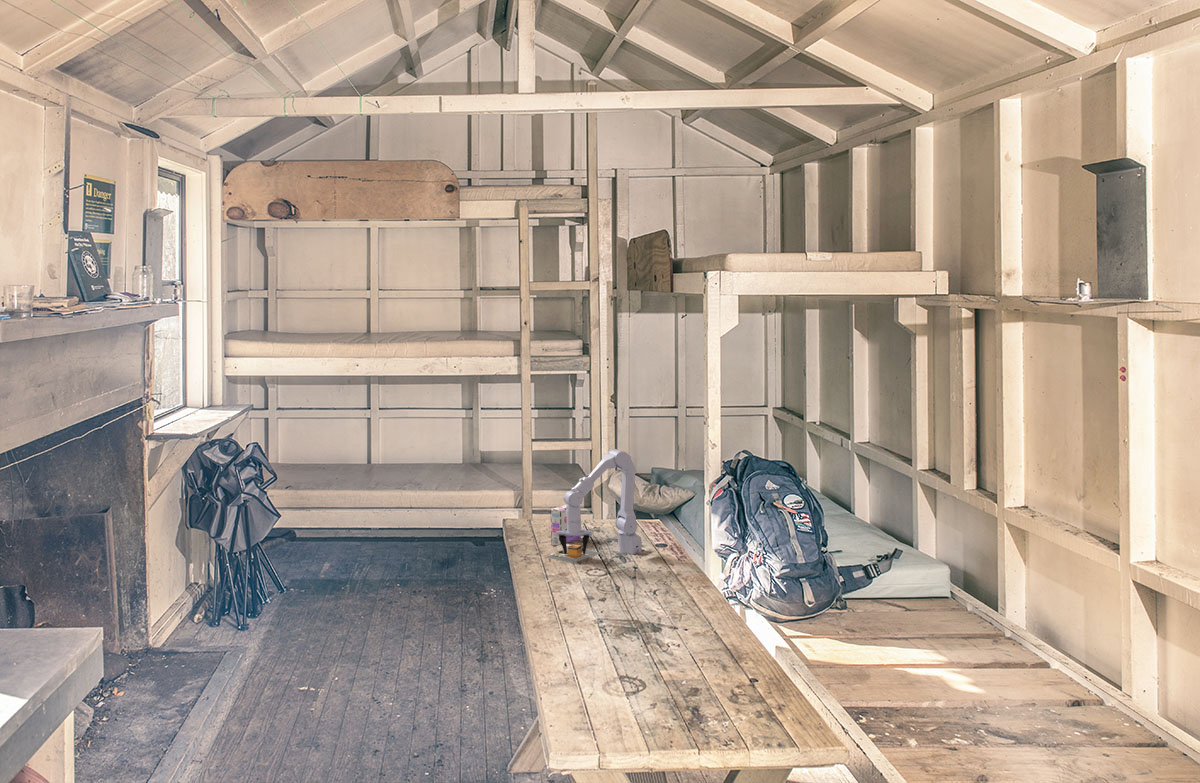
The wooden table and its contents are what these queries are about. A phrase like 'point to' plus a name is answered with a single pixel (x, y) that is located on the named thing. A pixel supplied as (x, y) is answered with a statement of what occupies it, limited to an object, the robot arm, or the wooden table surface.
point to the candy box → (559, 525)
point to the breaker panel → (565, 558)
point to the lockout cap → (575, 551)
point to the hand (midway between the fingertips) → (574, 553)
